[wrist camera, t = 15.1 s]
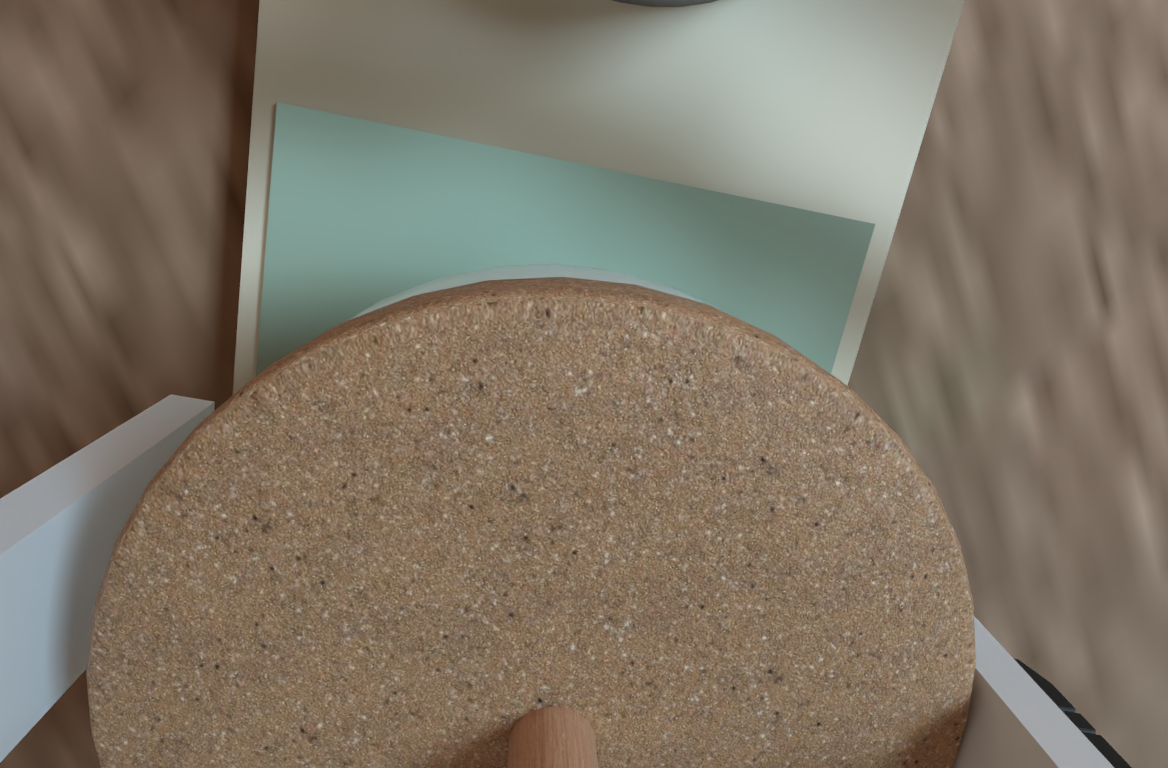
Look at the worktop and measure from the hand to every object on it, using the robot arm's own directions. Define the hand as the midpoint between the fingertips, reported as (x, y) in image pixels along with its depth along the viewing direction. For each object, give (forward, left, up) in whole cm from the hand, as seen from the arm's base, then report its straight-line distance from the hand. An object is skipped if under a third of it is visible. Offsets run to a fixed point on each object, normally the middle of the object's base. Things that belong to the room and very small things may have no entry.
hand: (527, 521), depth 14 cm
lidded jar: (0, 0, -3) cm, 3 cm away
